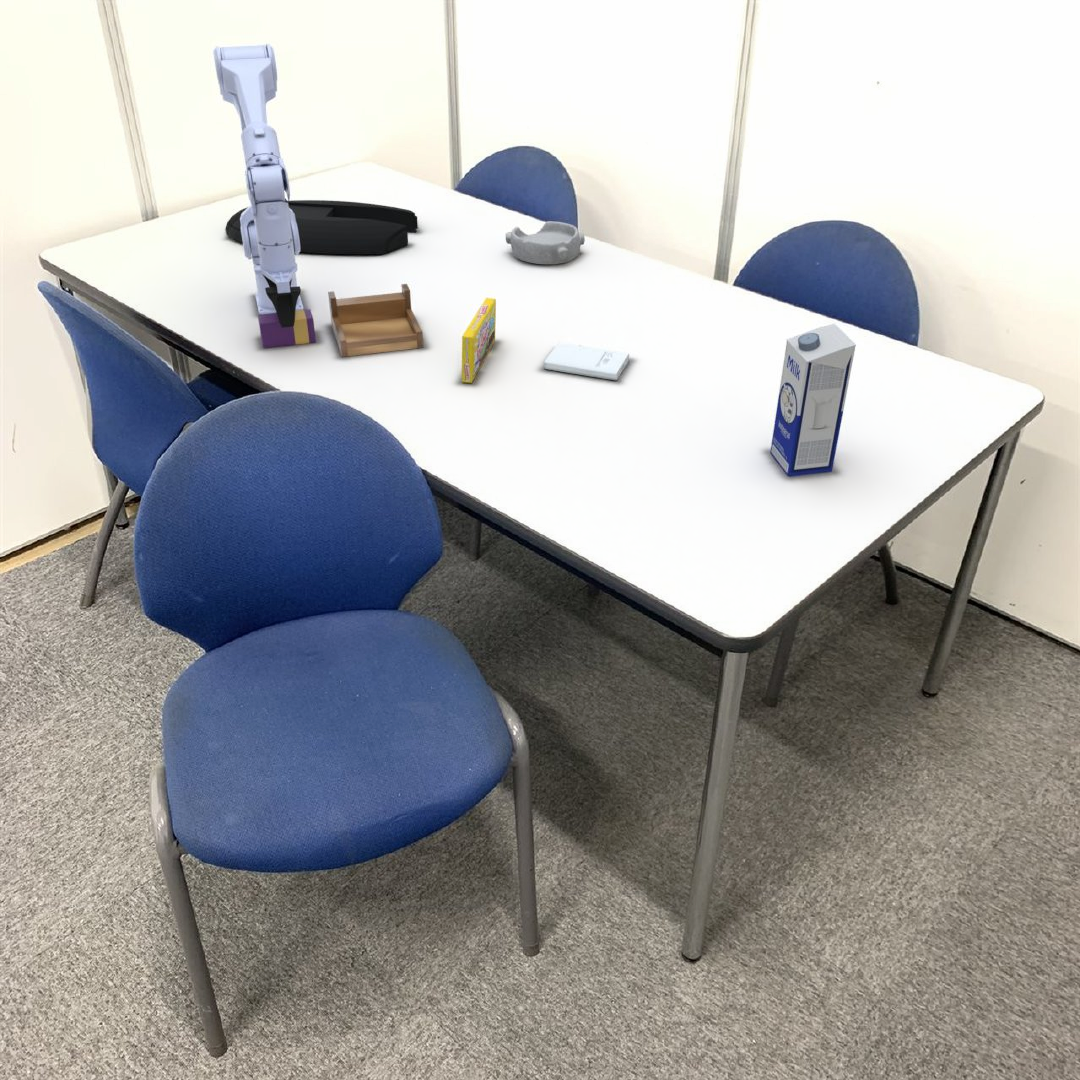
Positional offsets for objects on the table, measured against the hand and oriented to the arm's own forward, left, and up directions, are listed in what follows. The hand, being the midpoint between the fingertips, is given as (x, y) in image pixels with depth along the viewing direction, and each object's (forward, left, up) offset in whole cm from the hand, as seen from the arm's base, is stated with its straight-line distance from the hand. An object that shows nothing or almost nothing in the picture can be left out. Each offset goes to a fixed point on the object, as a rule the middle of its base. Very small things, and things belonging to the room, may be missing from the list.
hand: (285, 317), depth 189 cm
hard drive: (+23, +47, -5) cm, 52 cm away
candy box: (+17, +30, -5) cm, 35 cm away
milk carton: (+61, +67, -5) cm, 91 cm away
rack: (+2, +15, -4) cm, 16 cm away
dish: (-27, +55, -5) cm, 61 cm away
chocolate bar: (0, 0, -4) cm, 4 cm away
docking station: (-52, +12, -5) cm, 54 cm away
